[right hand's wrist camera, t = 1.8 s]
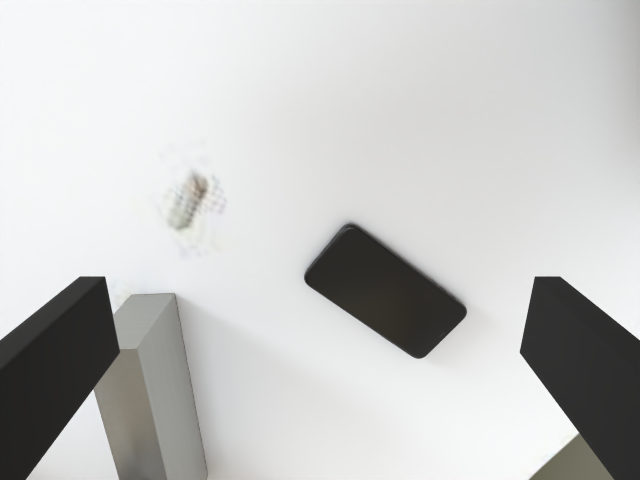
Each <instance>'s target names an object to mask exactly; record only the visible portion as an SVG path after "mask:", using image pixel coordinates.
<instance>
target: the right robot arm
mask: <svg viewBox="0 0 640 480" xmlns="http://www.w3.org/2000/svg"><path fill="white" fill-rule="evenodd" d="M119 354H120V349H119V344H118V339H117V334H116V329H115V324H114V319H113V314H112V309H111V304H110V299H109V294H108V289H107V284H106V279H105V277H79V278H78V279H76V280H75V281H74V282H73V283H71V284H70V285H69V286H68V287H66V288H65V289H64V290H63V291H61V292H60V293H59V294H58V295H56V296H55V297H54V298H53V299H51V300H50V301H49V302H48V303H46V304H45V305H44V306H43V307H41V308H40V309H39V310H38V311H36V312H35V313H34V314H33V315H31V316H30V317H29V318H28V319H26V320H25V321H24V322H23V323H21V324H20V325H19V326H18V327H16V328H15V329H14V330H13V331H11V332H10V333H9V334H8V335H6V336H5V337H4V338H3V339H1V340H0V480H26V479H27V477H28V476H29V474H30V473H31V472H32V470H33V469H34V468H35V466H36V465H37V464H38V462H39V461H40V460H41V458H42V457H43V456H44V454H45V453H46V452H47V450H48V449H49V448H50V446H51V445H52V444H53V442H54V441H55V440H56V438H57V437H58V436H59V434H60V433H61V432H62V430H63V429H64V427H65V426H66V425H67V423H68V422H69V421H70V419H71V418H72V417H73V415H74V414H75V413H76V411H77V410H78V409H79V407H80V406H81V405H82V403H83V402H84V401H85V399H86V398H87V397H88V395H89V394H90V393H91V391H92V390H93V389H94V387H95V386H96V385H97V383H98V382H99V380H100V379H101V378H102V376H103V375H104V374H105V372H106V371H107V370H108V368H109V367H110V366H111V364H112V363H113V362H114V360H115V359H116V358H117V356H118V355H119ZM520 354H521V355H522V356H523V358H524V359H525V360H526V362H527V363H528V364H529V366H530V367H531V368H532V370H533V371H534V372H535V374H536V375H537V376H538V378H539V379H540V380H541V382H542V383H543V385H544V386H545V387H546V389H547V390H548V391H549V393H550V394H551V395H552V397H553V398H554V399H555V401H556V402H557V403H558V405H559V406H560V407H561V409H562V410H563V411H564V413H565V414H566V415H567V417H568V418H569V419H570V421H571V422H572V423H573V425H574V426H575V427H576V429H577V430H578V432H579V433H580V434H581V436H582V437H583V438H584V440H585V441H586V442H587V444H588V445H589V446H590V448H591V449H592V450H593V452H594V453H595V454H596V456H597V457H598V458H599V460H600V461H601V462H602V464H603V465H604V466H605V468H606V469H607V470H608V472H609V473H610V474H611V476H612V477H613V479H614V480H640V340H639V339H637V338H636V337H635V336H634V335H632V334H631V333H630V332H629V331H627V330H626V329H625V328H624V327H622V326H621V325H620V324H619V323H617V322H616V321H615V320H614V319H612V318H611V317H610V316H609V315H607V314H606V313H605V312H604V311H602V310H601V309H600V308H599V307H597V306H596V305H595V304H594V303H592V302H591V301H590V300H589V299H587V298H586V297H585V296H584V295H582V294H581V293H580V292H579V291H577V290H576V289H575V288H574V287H572V286H571V285H570V284H569V283H567V282H566V281H565V280H564V279H562V278H561V277H535V279H534V284H533V289H532V294H531V299H530V304H529V309H528V314H527V319H526V324H525V329H524V334H523V339H522V344H521V349H520Z"/></svg>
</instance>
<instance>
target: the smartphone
mask: <svg viewBox="0 0 640 480" xmlns="http://www.w3.org/2000/svg"><path fill="white" fill-rule="evenodd" d="M304 280H305V282H306V284H307V285H308V286H310V287H311V288H312V289H314V290H315V291H317V292H318V293H320V294H321V295H323V296H324V297H326V298H327V299H329V300H330V301H331V302H333V303H334V304H336V305H337V306H339V307H340V308H342V309H343V310H345V311H346V312H348V313H349V314H350V315H352V316H353V317H355V318H356V319H358V320H359V321H361V322H362V323H364V324H365V325H367V326H368V327H370V328H371V329H372V330H374V331H375V332H377V333H378V334H380V335H381V336H382V337H384V338H385V339H387V340H388V341H390V342H391V343H393V344H394V345H396V346H397V347H399V348H400V349H402V350H403V351H405V352H406V353H408V354H409V355H410V356H412V357H414V358H417V359H420V358H423V357H425V356H426V355H427V354H428V353H430V352H431V351H432V350H433V349H434V348H435V347H436V346H437V345H438V344H439V343H440V342H441V341H442V340H443V339H444V338H445V337H446V336H447V335H448V334H449V333H450V332H451V331H452V330H453V329H454V328H455V327H456V326H457V325H458V324H459V323H460V322H461V321H462V320H463V319H464V318H465V316H466V314H467V309H466V307H465V306H464V305H463V304H462V303H461V302H460V301H458V300H457V299H456V298H455V297H453V296H452V295H450V294H449V293H448V292H447V291H445V290H444V289H443V288H441V287H440V286H438V285H437V284H436V283H435V282H433V281H432V280H431V279H429V278H427V277H426V276H425V275H423V274H422V273H421V272H419V271H418V270H417V269H415V268H414V267H413V266H411V265H410V264H409V263H407V262H406V261H405V260H403V259H402V258H401V257H399V256H398V255H397V254H395V253H394V252H393V251H391V250H390V249H389V248H387V247H386V246H384V245H383V244H382V243H380V242H379V241H378V240H376V239H375V238H374V237H372V236H371V235H370V234H368V233H367V232H366V231H364V230H363V229H362V228H360V227H359V226H357V225H355V224H347V225H345V226H343V227H342V228H341V229H340V231H339V232H338V233H337V234H336V235H335V237H334V238H333V239H332V240H331V241H330V243H329V244H328V245H327V246H326V248H325V249H324V250H323V251H322V252H321V254H320V255H319V256H318V257H317V258H316V260H315V261H314V262H313V263H312V265H311V266H310V267H309V268H308V269H307V271H306V272H305V275H304Z"/></svg>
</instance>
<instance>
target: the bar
mask: <svg viewBox="0 0 640 480" xmlns="http://www.w3.org/2000/svg"><path fill="white" fill-rule="evenodd" d="M113 319H114V324H115V329H116V334H117V339H118V344H119V349H120V354H119V355H118V356H117V358H116V359H115V360H114V362H113V363H112V364H111V366H110V367H109V368H108V370H107V371H106V372H105V374H104V375H103V376H102V378H101V379H100V380H99V382H98V383H97V385H96V386H95V387H94V392H95V396H96V399H97V403H98V406H99V410H100V413H101V417H102V420H103V424H104V427H105V431H106V434H107V438H108V441H109V445H110V448H111V452H112V455H113V459H114V462H115V466H116V469H117V473H118V476H119V480H206V479H207V476H208V474H207V468H206V463H205V457H204V452H203V446H202V441H201V435H200V430H199V424H198V419H197V413H196V408H195V403H194V397H193V392H192V386H191V381H190V375H189V370H188V364H187V359H186V353H185V348H184V342H183V337H182V331H181V326H180V320H179V315H178V309H177V304H176V299H175V294H174V293H171V294H144V295H131V296H130V297H129V298H128V299H127V300H126V301H125V303H124V304H123V305H122V306H121V307H120V308H119V309H118V310H117V312H116V313H115V314H114V315H113Z"/></svg>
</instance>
